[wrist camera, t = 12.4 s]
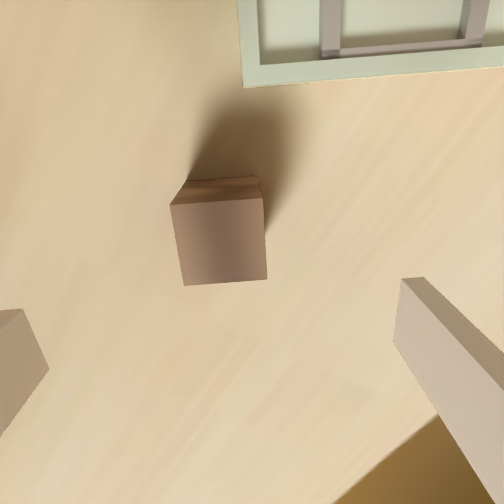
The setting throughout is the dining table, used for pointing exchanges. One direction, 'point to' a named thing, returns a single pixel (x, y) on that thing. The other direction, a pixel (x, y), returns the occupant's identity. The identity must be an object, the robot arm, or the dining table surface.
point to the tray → (365, 39)
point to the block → (220, 230)
